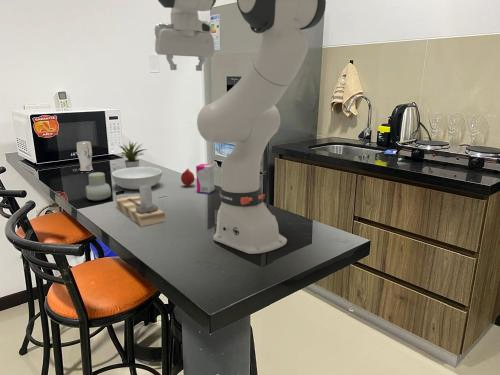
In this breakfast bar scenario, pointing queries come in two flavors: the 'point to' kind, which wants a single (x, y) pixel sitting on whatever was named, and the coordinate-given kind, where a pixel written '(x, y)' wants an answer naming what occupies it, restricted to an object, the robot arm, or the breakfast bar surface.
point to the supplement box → (205, 178)
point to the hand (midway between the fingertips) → (186, 70)
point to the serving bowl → (136, 177)
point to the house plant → (131, 155)
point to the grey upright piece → (146, 200)
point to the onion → (187, 177)
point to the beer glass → (85, 155)
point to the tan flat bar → (142, 219)
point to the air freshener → (97, 187)
